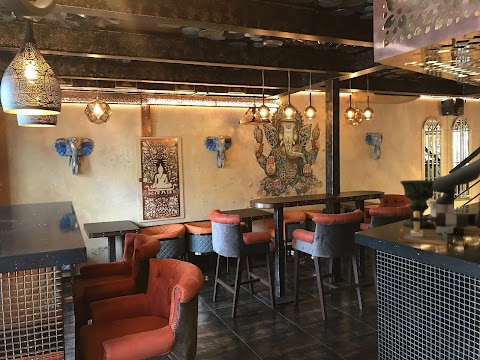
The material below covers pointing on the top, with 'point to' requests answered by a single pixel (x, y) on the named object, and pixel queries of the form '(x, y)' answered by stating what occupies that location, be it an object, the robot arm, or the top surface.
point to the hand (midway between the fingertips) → (410, 218)
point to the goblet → (418, 198)
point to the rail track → (424, 238)
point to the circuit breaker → (433, 208)
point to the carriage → (416, 226)
